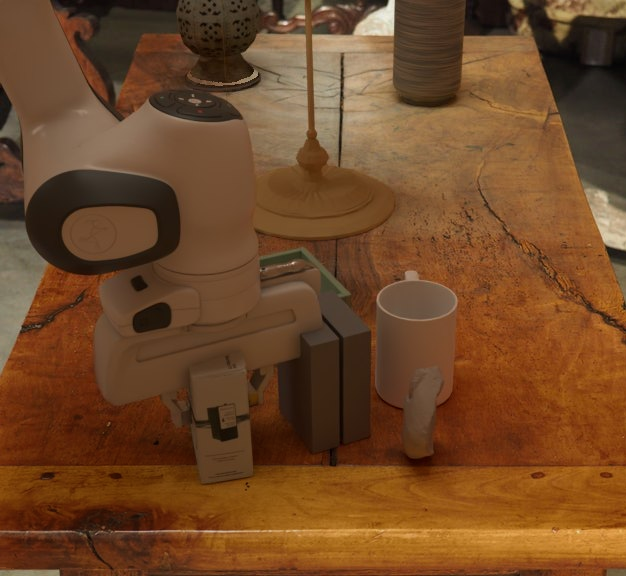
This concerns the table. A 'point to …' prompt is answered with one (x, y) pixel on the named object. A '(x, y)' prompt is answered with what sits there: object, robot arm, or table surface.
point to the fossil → (421, 412)
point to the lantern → (219, 40)
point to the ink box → (221, 418)
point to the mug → (414, 335)
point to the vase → (428, 50)
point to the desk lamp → (318, 188)
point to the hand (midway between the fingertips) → (217, 412)
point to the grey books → (329, 379)
